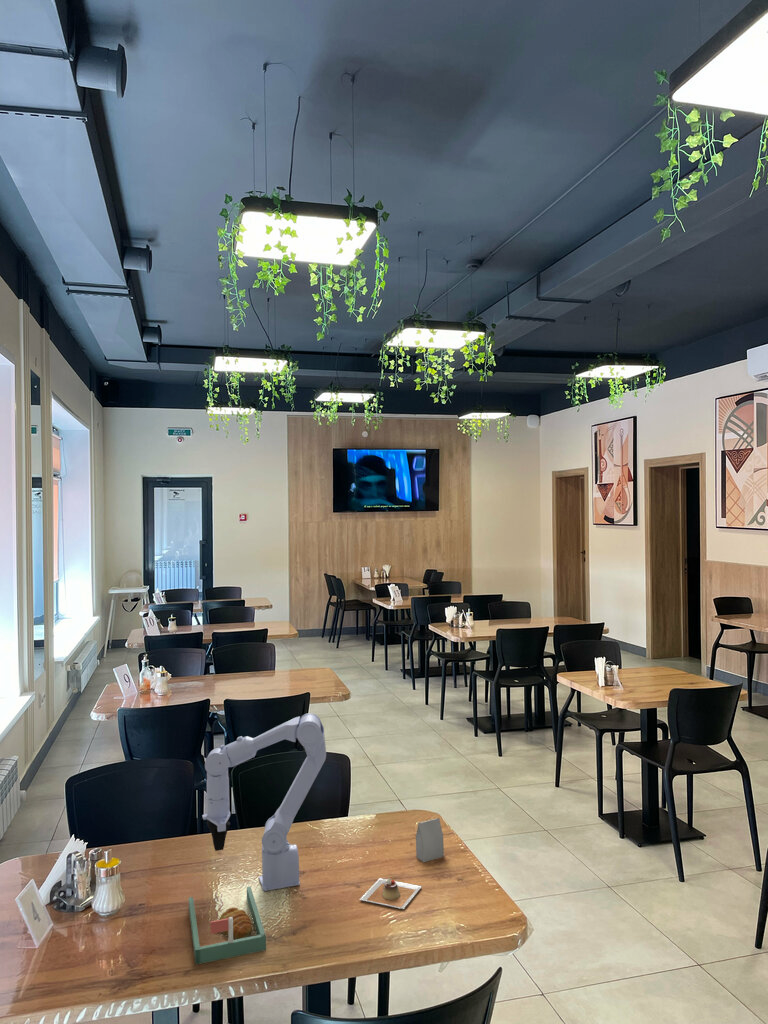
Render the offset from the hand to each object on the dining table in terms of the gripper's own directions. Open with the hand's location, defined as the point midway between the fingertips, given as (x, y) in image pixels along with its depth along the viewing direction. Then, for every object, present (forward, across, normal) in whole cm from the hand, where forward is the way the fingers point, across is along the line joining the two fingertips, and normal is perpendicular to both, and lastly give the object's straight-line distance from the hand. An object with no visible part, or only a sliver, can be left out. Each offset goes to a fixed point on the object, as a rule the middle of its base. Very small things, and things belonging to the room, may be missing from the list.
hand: (218, 849), depth 187 cm
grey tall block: (+10, +6, +57) cm, 58 cm away
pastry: (+10, +23, +1) cm, 25 cm away
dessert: (+10, +22, +40) cm, 46 cm away
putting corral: (+9, +22, -1) cm, 24 cm away
